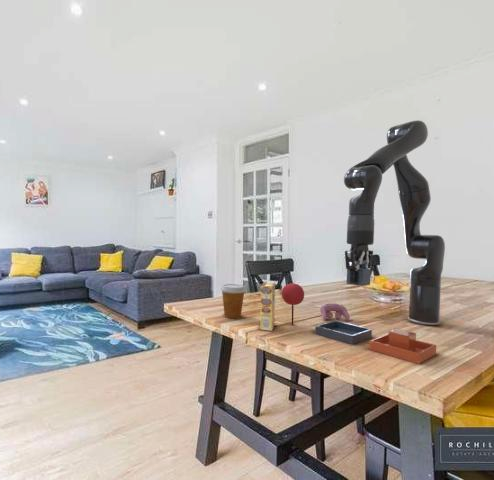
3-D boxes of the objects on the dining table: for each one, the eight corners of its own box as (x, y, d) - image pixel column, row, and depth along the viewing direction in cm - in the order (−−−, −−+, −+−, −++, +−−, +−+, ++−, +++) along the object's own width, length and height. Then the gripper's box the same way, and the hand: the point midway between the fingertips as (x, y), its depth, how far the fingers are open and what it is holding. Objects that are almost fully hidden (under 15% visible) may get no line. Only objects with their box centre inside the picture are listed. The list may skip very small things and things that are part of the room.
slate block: (354, 282, 109) (354, 267, 109) (370, 284, 105) (370, 269, 105) (346, 283, 106) (347, 268, 106) (362, 286, 102) (363, 270, 102)
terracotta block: (395, 345, 97) (396, 328, 97) (415, 350, 93) (416, 333, 93) (388, 348, 94) (388, 331, 94) (408, 354, 90) (409, 336, 90)
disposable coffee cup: (218, 313, 134) (218, 283, 133) (241, 313, 135) (241, 283, 134) (223, 319, 124) (224, 288, 124) (248, 319, 125) (248, 288, 125)
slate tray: (335, 327, 116) (335, 320, 116) (371, 337, 106) (372, 329, 106) (315, 333, 109) (315, 325, 109) (352, 344, 99) (352, 335, 99)
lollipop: (303, 323, 121) (304, 282, 121) (303, 328, 114) (305, 285, 113) (281, 321, 124) (282, 281, 123) (280, 326, 116) (281, 284, 116)
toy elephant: (346, 322, 128) (343, 305, 131) (351, 320, 124) (348, 302, 127) (320, 321, 129) (318, 304, 132) (324, 319, 125) (321, 301, 128)
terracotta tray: (388, 341, 102) (388, 333, 102) (436, 354, 92) (436, 345, 92) (369, 349, 95) (369, 340, 95) (418, 363, 85) (419, 354, 85)
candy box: (272, 331, 111) (273, 286, 110) (259, 329, 112) (260, 285, 112) (274, 324, 119) (275, 282, 118) (262, 323, 120) (263, 281, 120)
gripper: (361, 229, 98) (359, 286, 98) (383, 230, 106) (380, 282, 106) (337, 228, 104) (334, 282, 104) (359, 229, 112) (356, 279, 113)
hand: (358, 282), depth 105 cm, fingers closed on slate block, 5 cm apart
